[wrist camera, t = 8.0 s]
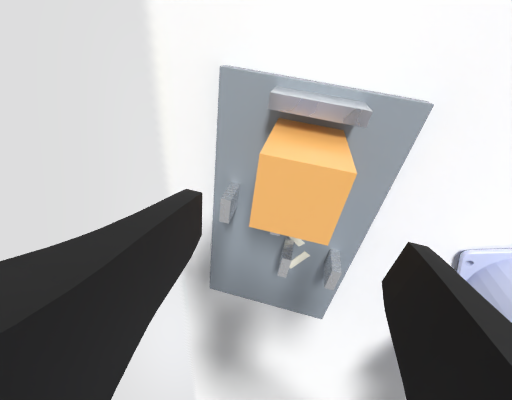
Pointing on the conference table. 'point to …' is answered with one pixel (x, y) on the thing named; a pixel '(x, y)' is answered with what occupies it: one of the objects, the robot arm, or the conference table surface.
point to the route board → (244, 172)
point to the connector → (302, 181)
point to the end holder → (320, 106)
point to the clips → (331, 263)
